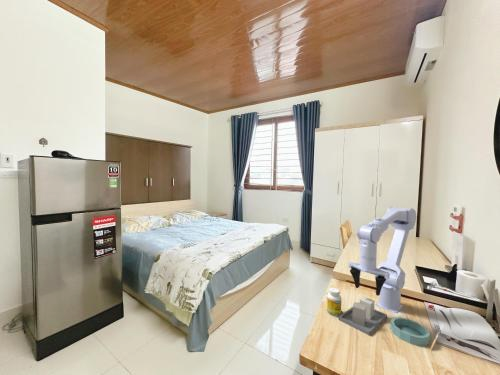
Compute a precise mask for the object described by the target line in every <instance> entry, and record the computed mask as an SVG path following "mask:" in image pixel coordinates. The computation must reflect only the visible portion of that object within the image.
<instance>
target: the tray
mask: <svg viewBox="0 0 500 375" xmlns="http://www.w3.org/2000/svg"><path fill="white" fill-rule="evenodd" d="M358 303H359V304H360V302H358ZM352 316H353V306H351V307H350V308H349V309H348V310H346V311H344V312H343V313H341V315H340V316H339V317H338V321H339V322H342V323H344V324H346V325H348V326H349V327H352V328H353V329H356V330H358V331H359V332H362V333H363V334H364V335H366V336H371V335H372V333H373V332H375V331H376V329H377V328H379V327H380V325H381V324H382V323H383V322H384V321H385V320H386V319H387V318H388V314H386V313H384V312H382V311H379V310H377V309H375V308H374V316H373V317H372V318H371V319H368V318H366V322H365V326H361V325H358V324H355V323H352Z"/></svg>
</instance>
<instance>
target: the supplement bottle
mask: <svg viewBox="0 0 500 375" xmlns="http://www.w3.org/2000/svg"><path fill="white" fill-rule="evenodd" d="M326 298H327V299H326V311H327V314H328V315H330V316H331V317H335V318H339V316H340V315H342V297H341V292H340V290H339V289H338V288H335V287H330V288H328V293H327V296H326Z"/></svg>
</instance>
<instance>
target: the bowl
mask: <svg viewBox="0 0 500 375" xmlns="http://www.w3.org/2000/svg"><path fill="white" fill-rule="evenodd" d="M390 331H391V333H392V334H393V335H394V336H396V337H397V338H398V339H400V340H401V341H404V342H406V343H408V344H410V345H414V346H419V347H423V346H424V347H425V346H429V344H430V342H431V332H430V331H429V330H428V328H427V327H425V326H424V325H422V324H421V323H419V322H417V321H415V320H412V319H410V318H405V317H393V318H392V319H391V320H390Z"/></svg>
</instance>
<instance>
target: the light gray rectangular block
mask: <svg viewBox="0 0 500 375" xmlns="http://www.w3.org/2000/svg"><path fill="white" fill-rule="evenodd" d="M359 303H360V302H355V301H354V303H353V306H352V307H353V316H352V323H355V324H358V325H361V326H365V322H366V305H363V304H359Z"/></svg>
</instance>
